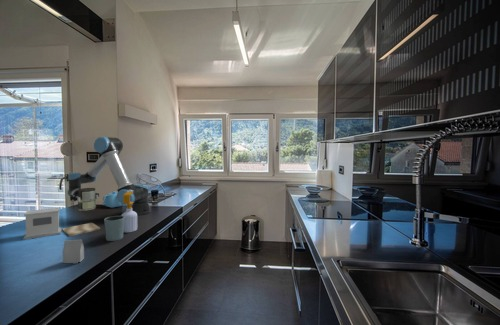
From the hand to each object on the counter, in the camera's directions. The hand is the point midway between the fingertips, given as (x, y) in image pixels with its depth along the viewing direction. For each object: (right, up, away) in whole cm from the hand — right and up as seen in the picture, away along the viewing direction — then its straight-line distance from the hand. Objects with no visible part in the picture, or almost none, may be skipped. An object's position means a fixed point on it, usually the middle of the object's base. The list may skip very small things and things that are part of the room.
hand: (88, 198), depth 159 cm
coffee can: (-3, -8, +3) cm, 9 cm away
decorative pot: (-10, -15, +47) cm, 50 cm away
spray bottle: (+34, -19, -12) cm, 41 cm away
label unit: (-12, -18, -22) cm, 31 cm away
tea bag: (+31, -21, -54) cm, 66 cm away
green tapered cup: (+33, -19, -26) cm, 46 cm away
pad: (+4, -18, -13) cm, 23 cm away
